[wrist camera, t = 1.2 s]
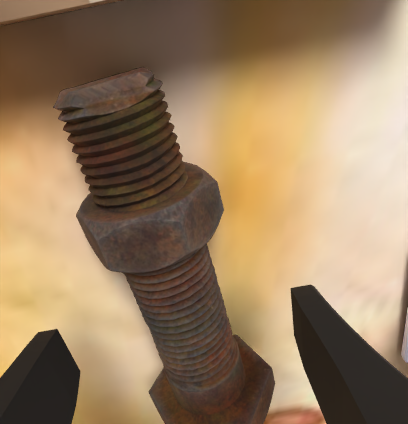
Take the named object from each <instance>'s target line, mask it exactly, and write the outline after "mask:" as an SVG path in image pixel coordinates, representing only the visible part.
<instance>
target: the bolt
mask: <svg viewBox="0 0 408 424" xmlns="http://www.w3.org/2000/svg"><path fill="white" fill-rule="evenodd" d="M161 85H162V81H160V80H157V79H155V78H154V74H152V71H150V70H148V69H146V68H144V67H141V68H136V69H134V70H131V71H127V72H124V73H120V74H117V75H113V76H110V77H106V78H103V79H99V80H95V81H92V82H89V83H86V84H83V85H80V86H77V87H72V88H68V89H64V90H62V91H61V92H60V93H59V96H58V99H57V101H56V103H55V105H54V107H53V108H55V109H58V110H61V111H62V113H61V114H60V116H59V118H58V119H59V120H61V121H64V122H67V123H66V124H65V126H64V128H63V130H64V131H66V132H69V133H71V134H70V136H69V137H68V139H67V140H68V141H69V142H71V143H73V144H75V145H74V147H73V149H72V152H74V153H76V154H79V156H78V157H77V162H78V163H80V164H82V165H83V166H82V168H81V172H82V173H83V174H85V175H86V177H85V182H86V183H88V184H90V187H89V191H90V192H91V193H90V194H89V195H88V196H87V197H86V198H85V200H84V201H83V202H82V204H81V206H80V208H79V210H78V212H77V214H76V217H77V219H78V221H79V223H80V225H81V227H82V229H83V232H84V234H85V236H86V238H87V240H88V242H89V244H90V245H91V247H92V249H93V250H94V252H95V254H96V255H97V256H98V258H99V259H100V261H101V262H102V264H103V265H104V266H105V267H106V268H107V269H108V270H110V271H116V272H122V273H124V274H125V276H126V277H127V281H128V283H129V284H130V288H131V290H132V291H133V294H134V297H135V298H136V301H137V304H138V305H139V308H140V311H141V312H142V316H143V317H144V319H145V322H146V324H147V325H148V327H149V329H150V331H151V334H152V337H153V339H154V342H155V344H156V348H157V350H158V352H159V355H160V358H161V360H162V362H163V364H164V368H163V370H162V372H161V373H160V375H159V376H158V378H157V379H156V381H155V383H154V384H153V386H152V387H151V389H150V390H149V394H150V396H151V398H152V400H153V402H154V404H155V406H156V408H157V410H158V412H159V414H160V416H161V418H162V419H163V421H164V423H165V424H263V423H264V421H265V418H266V415H267V413H268V410H269V407H270V403H271V399H272V395H273V390H274V385H275V381H274V376H273V371H272V367H270V366H269V365H268V364H267V363H266V362H265V361H264V360H263V359H262V358H261V357H260V356H259V355H258V354H257V353H256V352H255V351H253V350H252V349H251V348H250V347H249V346H248V345H247V344H246V343H245V342H244V341H243V340H242V339H241V338H240V337H239V336H238V335H232V330H231V326H230V323H229V319H228V317H227V314H226V309H225V305H224V301H223V299H222V294H221V292H220V287H219V285H218V282H217V277H216V274H215V269H214V266H213V264H212V260H211V257H210V254H209V250H208V246H207V244H206V243H207V242H208V241H209V240H210V239H211V237H212V236H213V234H214V232H215V230H216V228H217V226H218V224H219V222H220V219H221V216H222V214H223V211H224V208H223V204H222V200H221V196H220V191H219V187H218V183H217V181H216V180H215V179H213V178H212V177H211V176H210V175H209V174H208V173H207V172H206V171H204V170H203V169H201V168H200V167H198V166H197V165H193V164H190V163H187V162H183V161H182V156H183V155H182V154H181V153H180V152H179V149H180V146H179V144H178V143H176V139H177V135H176V134H175V133H172V131H173V129H174V125H173V124H172V123H169V120H170V117H171V114H170V113H168V112H165V111H166V109H167V107H168V105H167V102H165V101H162V99H163V98H164V97H165V93H164V92H163V91H160V90H158V89H159V88H160V86H161Z"/></svg>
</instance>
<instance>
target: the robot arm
mask: <svg viewBox="0 0 408 424" xmlns="http://www.w3.org/2000/svg"><path fill="white" fill-rule="evenodd" d="M291 299H292V312H293V325H294V336H295V339H296V343H297V346H298V350H299V353H300V357H301V360H302V363H303V367H304V369H305V372H306V374H307V377H308V379H309V382H310V384H311V387H312V389H313V392H314V394H315V396H316V399H317V401H318V404H319V406H320V409H321V411H322V413H323V416H324V418H325V421H326V423H327V424H408V378H407V377H405V376H404V375H403V374H402V373H401V372H399V371H398V370H397V369H396V368H395V367H394V366H392V365H391V364H390V363H389V362H388V361H387V360H386V359H384V358H383V357H382V356H381V355H380V354H379V353H378V352H376V351H375V350H374V349H373V348H372V347H371V346H370V345H369V344H368V343H367V342H366V341H365V340H364V339H363V338H362V337H361V336H360V335H359V334H357V333H356V332H355V331H354V330H353V329H352V328H351V327H350V326H349V325H348V324H347V323H346V322H345V321H344V320H343V319H342V317H341V316H340V315H339V314H338V313H337V312H336V311H335V310H334V309H333V308H332V307H331V306H330V304H329V303H328V302H327V301H326V300H325V299H324V298H323V296H322V295H321V294H320V293H319V292H318V291H317V289H316V288H315V287H314V286H312V285H306V286H300V287H295V288H291ZM401 356H402V358H403V359H404V361H405V362H406V363H408V309H407V316H406V323H405V330H404V337H403V345H402V352H401ZM79 379H80V370H79V368H78V366H77V364H76V362H75V361H74V359H73V357H72V355H71V353H70V351H69V350H68V348H67V346H66V344H65V342H64V340H63V339H62V337H61V335H60V333H59V331H58V329H54V330H49V331H43V332H38V333H37V334H36V335H35V337H34V338H33V339H32V340H31V341H30V342H29V344H28V345H27V346H26V347H25V348H24V350H23V351H22V352H21V353H20V355H19V356H18V357H17V358H16V359H15V361H14V362H13V363H12V364H11V366H10V367H9V368H8V369H7V370H6V372H5V373H4V374H3V375H2V376H1V378H0V424H71V423H72V419H73V415H74V411H75V407H76V401H77V395H78V387H79Z"/></svg>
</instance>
